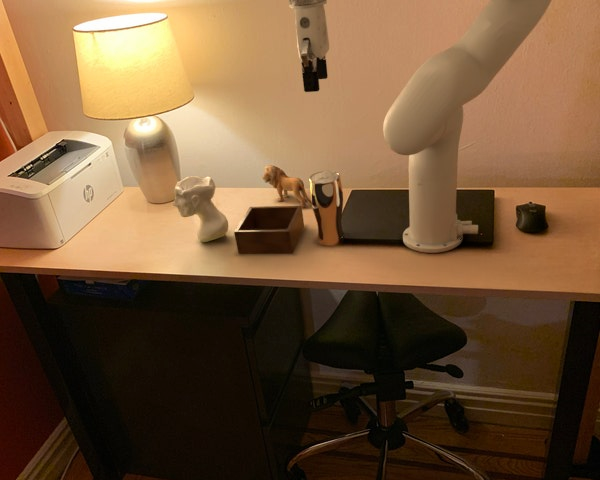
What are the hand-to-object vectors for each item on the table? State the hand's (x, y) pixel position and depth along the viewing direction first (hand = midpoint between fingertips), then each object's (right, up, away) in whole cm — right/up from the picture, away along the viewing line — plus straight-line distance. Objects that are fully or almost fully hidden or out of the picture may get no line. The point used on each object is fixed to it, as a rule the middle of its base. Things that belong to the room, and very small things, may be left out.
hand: (316, 84), depth 128 cm
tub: (-10, -33, +8) cm, 35 cm away
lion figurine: (-6, -21, +25) cm, 33 cm away
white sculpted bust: (-25, -32, +12) cm, 43 cm away
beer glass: (+3, -33, +5) cm, 34 cm away
